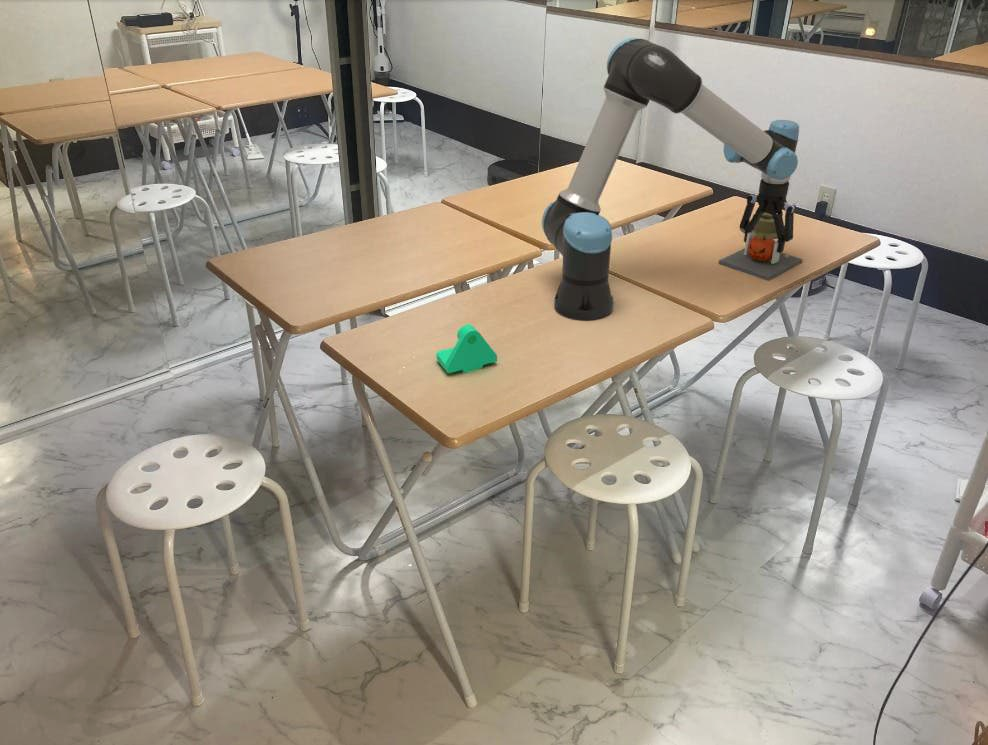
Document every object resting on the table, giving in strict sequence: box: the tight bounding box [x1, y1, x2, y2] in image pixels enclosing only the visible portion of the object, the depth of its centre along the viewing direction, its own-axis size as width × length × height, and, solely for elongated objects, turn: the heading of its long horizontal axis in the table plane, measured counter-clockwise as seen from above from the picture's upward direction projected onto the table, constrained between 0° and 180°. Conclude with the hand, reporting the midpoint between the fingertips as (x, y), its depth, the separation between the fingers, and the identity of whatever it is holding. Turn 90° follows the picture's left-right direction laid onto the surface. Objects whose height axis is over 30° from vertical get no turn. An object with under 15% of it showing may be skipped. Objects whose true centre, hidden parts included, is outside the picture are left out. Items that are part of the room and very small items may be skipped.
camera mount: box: [436, 323, 498, 374], centre depth 179 cm, size 12×8×10 cm, turn 115°
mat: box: [718, 247, 804, 281], centre depth 228 cm, size 18×16×1 cm
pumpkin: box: [748, 235, 776, 261], centre depth 226 cm, size 8×8×7 cm
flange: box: [739, 213, 785, 240], centre depth 250 cm, size 5×15×15 cm
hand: (761, 257), depth 228 cm, fingers closed on pumpkin, 8 cm apart
